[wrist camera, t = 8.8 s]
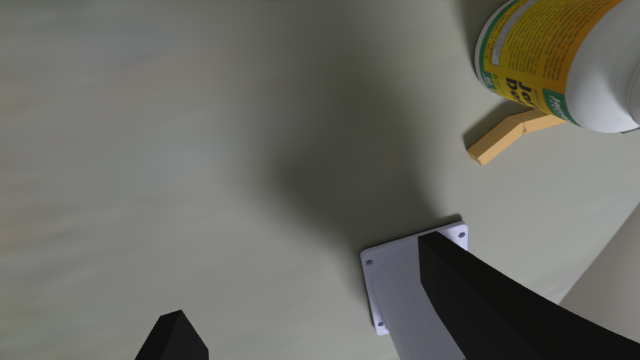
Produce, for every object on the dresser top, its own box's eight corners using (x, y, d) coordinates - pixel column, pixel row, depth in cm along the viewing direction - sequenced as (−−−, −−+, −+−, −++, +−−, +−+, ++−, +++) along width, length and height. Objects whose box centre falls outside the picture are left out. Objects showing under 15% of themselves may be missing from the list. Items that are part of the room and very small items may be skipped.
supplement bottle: (577, 14, 18) (849, 25, 10) (522, 105, 20) (708, 176, 12) (505, -27, 17) (761, -55, 8) (452, 77, 19) (614, 137, 10)
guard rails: (576, 128, 22) (592, 134, 21) (466, 159, 22) (477, 167, 20) (624, -113, 16) (650, -121, 15) (470, -76, 15) (486, -82, 14)
